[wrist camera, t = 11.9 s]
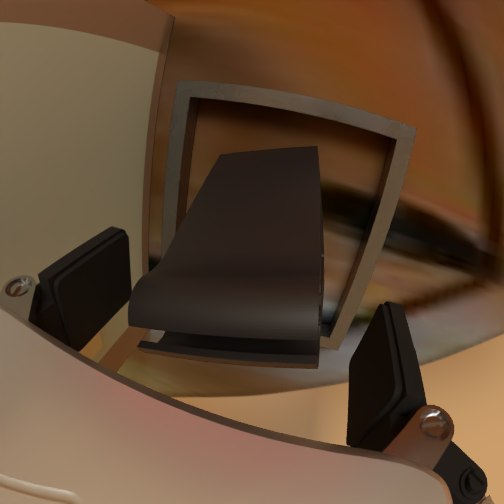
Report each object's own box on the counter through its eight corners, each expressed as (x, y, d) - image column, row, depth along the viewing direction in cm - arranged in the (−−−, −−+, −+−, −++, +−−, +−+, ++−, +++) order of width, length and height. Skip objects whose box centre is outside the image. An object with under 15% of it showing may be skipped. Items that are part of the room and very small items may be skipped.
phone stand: (222, 153, 18) (89, 206, 7) (318, 145, 16) (316, 182, 6) (240, 279, 21) (170, 414, 11) (324, 279, 20) (314, 434, 9)
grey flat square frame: (409, 128, 14) (416, 128, 13) (337, 337, 22) (338, 350, 20) (188, 82, 16) (177, 80, 15) (169, 291, 23) (161, 301, 22)
